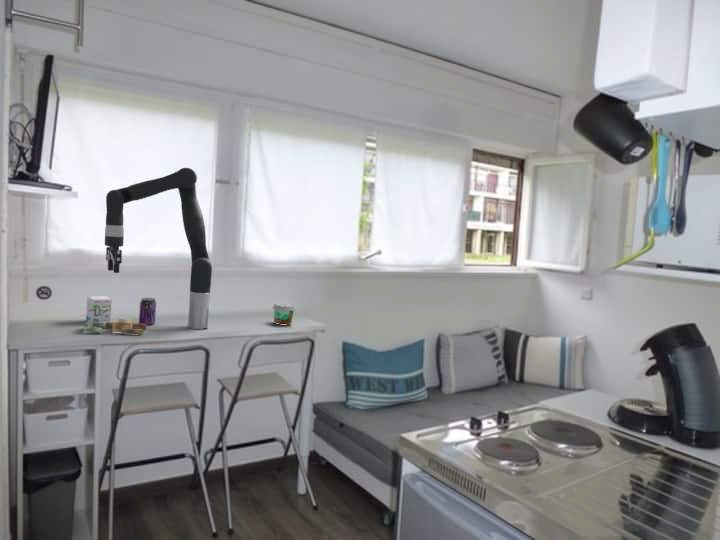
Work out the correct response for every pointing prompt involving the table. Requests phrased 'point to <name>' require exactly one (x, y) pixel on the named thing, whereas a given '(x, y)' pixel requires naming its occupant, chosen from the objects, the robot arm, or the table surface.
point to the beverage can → (147, 311)
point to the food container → (283, 314)
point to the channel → (97, 326)
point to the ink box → (99, 308)
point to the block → (122, 324)
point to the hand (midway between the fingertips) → (113, 271)
